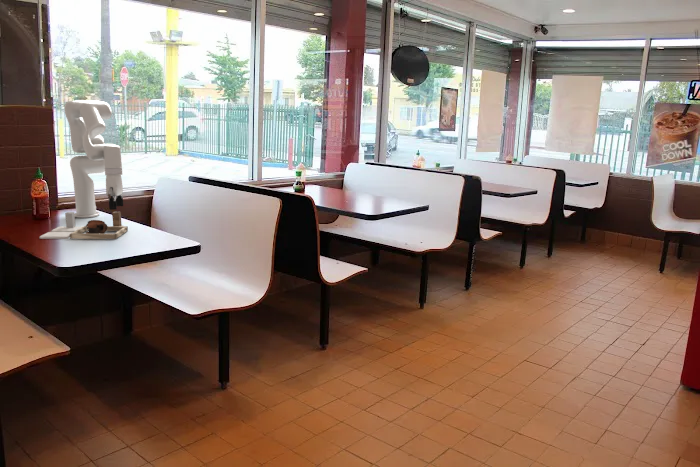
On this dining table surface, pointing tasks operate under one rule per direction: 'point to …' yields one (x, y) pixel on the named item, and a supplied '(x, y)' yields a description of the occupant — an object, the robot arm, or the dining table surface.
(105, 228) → the brown rounded lump
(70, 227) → the white base with block
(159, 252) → the dining table surface
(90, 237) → the beige rectangular tray
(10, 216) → the dining table surface
